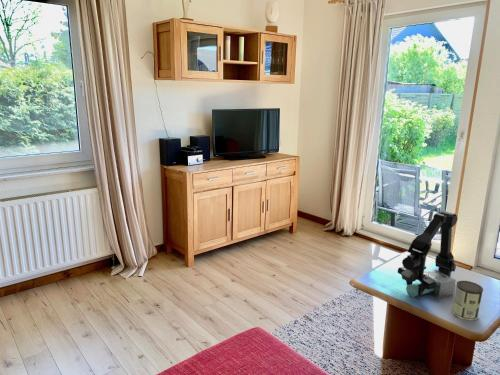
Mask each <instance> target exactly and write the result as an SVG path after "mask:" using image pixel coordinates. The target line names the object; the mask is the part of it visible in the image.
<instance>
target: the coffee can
mask: <svg viewBox="0 0 500 375" xmlns="http://www.w3.org/2000/svg"><path fill="white" fill-rule="evenodd" d="M455 286H456V288H455V293H454V298H453V305H452V309H451V310H452V313H453V314H454V315H455V316H456V317H458V318H460V319H462V320H467V321H476V320H478V317H479V316H478V315H479V312H480V305H481V301H482V296H483V291H484V288H483V286H481V285H480V284H478V283H476V282H473V281H469V280H458V281H456V285H455Z"/></svg>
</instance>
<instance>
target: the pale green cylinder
mask: <svg viewBox="0 0 500 375" xmlns="http://www.w3.org/2000/svg"><path fill="white" fill-rule="evenodd" d="M419 284H421V283H420V282H418V283H412V285H411V284H410V285H407V284H406V288H405V291H406V293H407V295H408V296H409V297H411V298H415V297H417V296H418V290H419V286H418V285H419ZM434 290H435V288H433V289H429V290H428V289H425V290H424V292H423V293H422V294H421V295H420V296H422V295H426V294H431V293H430V292H433V291H434ZM418 297H419V296H418Z"/></svg>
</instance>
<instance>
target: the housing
mask: <svg viewBox="0 0 500 375" xmlns="http://www.w3.org/2000/svg"><path fill="white" fill-rule="evenodd" d="M424 274H425V277H423V279H425V280H426V279H431V280H433V281H435V282H436V283H437V285H436V288H435V290H434V291H433V292H430V293H429V294H430V295H432V296H434V297H436V298H437V299H441V298H445V297H450V296H452V295H454V291H455V286H456V285H455V284H456V282H457V281H456V279H454V278H452V277H451V276H450V277H449V276H447V275H445V274H443V273H441V272H439V271H438V270H437V269H431V270H426V271H424ZM419 283H421V282H420V281H419Z"/></svg>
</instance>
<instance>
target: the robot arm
mask: <svg viewBox="0 0 500 375" xmlns="http://www.w3.org/2000/svg"><path fill="white" fill-rule="evenodd" d="M457 222H458V215H457V214H456V213H453V212H450V211H444V210H441V212H439V211H438V212H436V213H434V214H433V217H432V219H431V221H430V222H429V223H428V225H427V227H425V229H424V231H423V232H422V233H420V234H418V235H417V236H415V238H413V240H412V241H411V243H410V246H409V248H407V249H408V250H407V253H409V254H407V256H406V257H405V258H403V260H402V262H401V263H402V266H400V267H398V268H397V273H398V274H399V275H401V279H402V280H403V281H405V282H406V286H407V285H410V284H411V285H412V284H414V282H416V281H419V283H420V282H421V284H419V285H418V286H419V290H418V297H420V296H422V295H423V294H422V293H423V292H424V290H425V289H428V290H429V289H433V288H436V285H437V283H436V282H435V281H433V280H431V279H426V280H425V279H423V277H425V274H424V272H425V270H426V269H427V266H426V260H427V255H428V254H429V252H430V251H431V250H432V240H433V239H434V237H435V236H436V234H437V233H438V231H439V230H440V228H441V230H440V231H441V234H440V248H439V250H440V251H439V252H438V254H437V255H436V256H435V263H434V264H435V267H438V270H437V271H439V272H441V273H443V274H445V275H447V276H449V277H451V276H452V272H456V268H457V265H456V262H455V260H454V259H455V257H454V255H453V253H452V252H451V250H452V237H453V236H452V235H453V234H452V233H453V228H454V226H456V224H457ZM421 294H422V295H421Z"/></svg>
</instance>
